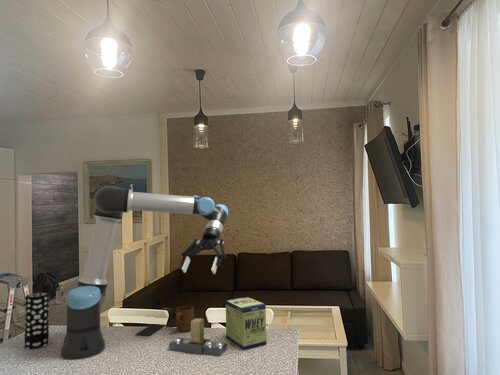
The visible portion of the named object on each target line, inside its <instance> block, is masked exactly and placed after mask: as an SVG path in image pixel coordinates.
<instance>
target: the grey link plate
mask: <svg viewBox="0 0 500 375" xmlns="http://www.w3.org/2000/svg"><path fill="white" fill-rule="evenodd" d="M168 349H169V350H168V351H175V352H184V353H185V354H194V355H201V356H202V355H208V356H209V355H211V356H218V357H221V356H223V354H224V353H225V352H226V351H227V350H228V346H227V342H222V341H214V340H213V341H212V340H211V338H204V344H203V345H197V344H191V338H185V337H184V338H183V337H174V338H173V340H172V341H170V342H169V343H168Z"/></svg>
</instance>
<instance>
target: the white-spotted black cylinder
mask: <svg viewBox="0 0 500 375" xmlns="http://www.w3.org/2000/svg"><path fill="white" fill-rule="evenodd" d="M24 303H25V304H24V306H25V309H24V310H25V311H24V344H23V345H24V349H26V350H35V349H34V348H36V349H40V348H39V347H41V348H43V347H42V346H44V345H46V344H47V345H49V343H48V342H49V339H50V338H49V336H50V333H49V332H50V331H49V330H50V292H37V293H36V292H35V293H29V294H27V295H25V302H24ZM47 345H46V346H47ZM44 347H45V346H44Z"/></svg>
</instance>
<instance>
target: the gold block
mask: <svg viewBox="0 0 500 375" xmlns="http://www.w3.org/2000/svg"><path fill="white" fill-rule="evenodd" d="M190 339H191V344H197V345H203V344H204V339H205V320H204V318H195V317H194V320H192V321H191V331H190Z"/></svg>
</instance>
